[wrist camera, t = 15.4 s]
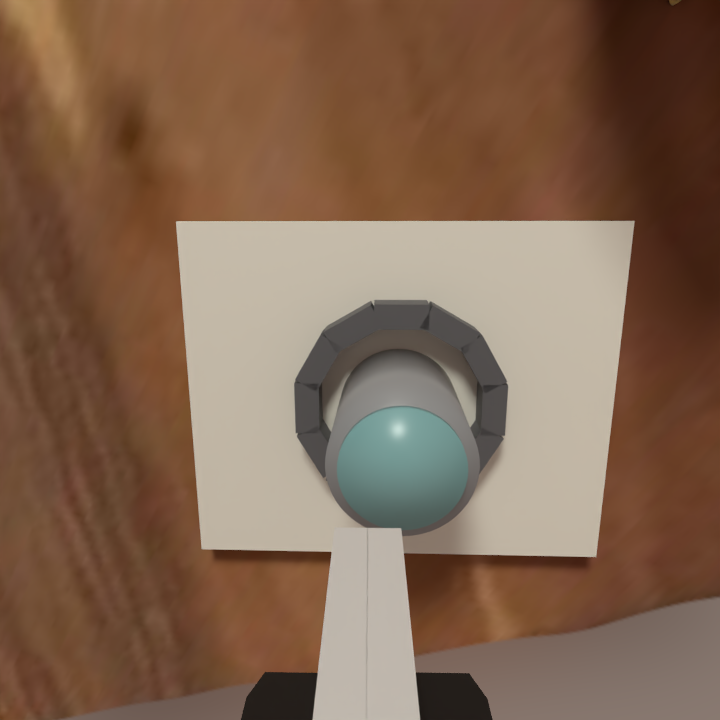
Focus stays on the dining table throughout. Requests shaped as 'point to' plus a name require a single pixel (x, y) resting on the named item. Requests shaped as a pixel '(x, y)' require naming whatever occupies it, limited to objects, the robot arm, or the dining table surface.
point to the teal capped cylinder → (401, 445)
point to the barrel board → (412, 332)
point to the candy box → (674, 2)
